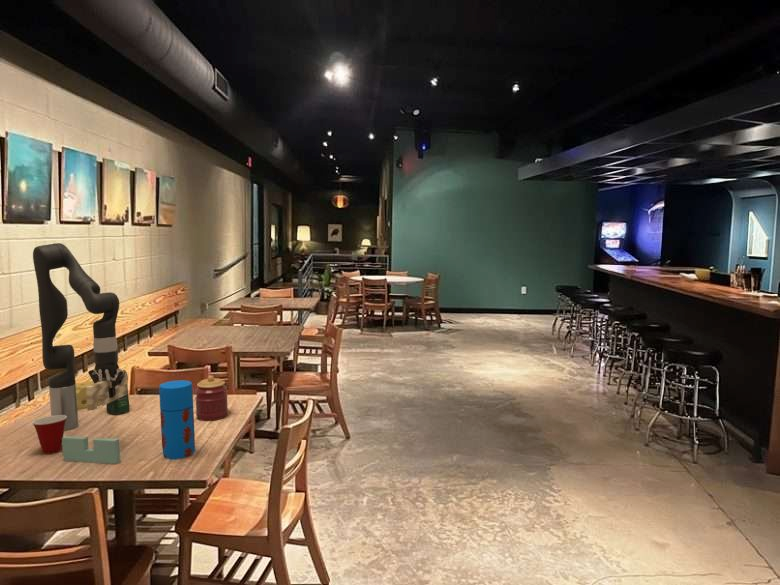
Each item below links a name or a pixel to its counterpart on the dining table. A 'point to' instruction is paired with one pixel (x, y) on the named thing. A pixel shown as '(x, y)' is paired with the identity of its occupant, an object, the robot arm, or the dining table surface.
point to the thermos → (177, 419)
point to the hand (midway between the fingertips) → (108, 397)
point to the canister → (211, 399)
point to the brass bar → (104, 393)
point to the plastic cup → (50, 432)
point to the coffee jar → (119, 404)
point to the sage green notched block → (91, 450)
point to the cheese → (82, 394)
